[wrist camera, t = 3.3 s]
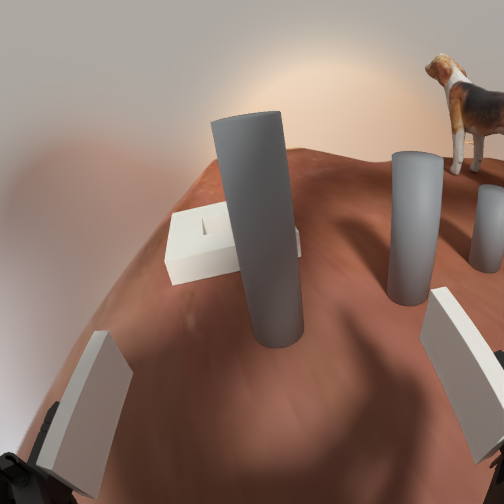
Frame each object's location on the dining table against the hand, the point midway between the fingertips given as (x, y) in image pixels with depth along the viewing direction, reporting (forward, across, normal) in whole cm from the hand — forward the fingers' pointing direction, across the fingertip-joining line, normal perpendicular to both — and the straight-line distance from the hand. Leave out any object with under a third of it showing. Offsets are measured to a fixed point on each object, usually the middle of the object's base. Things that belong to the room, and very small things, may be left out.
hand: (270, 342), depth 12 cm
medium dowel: (+12, +12, -8) cm, 19 cm away
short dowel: (+14, +23, -8) cm, 28 cm away
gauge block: (+26, -5, -8) cm, 28 cm away
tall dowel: (+10, 0, -8) cm, 13 cm away
